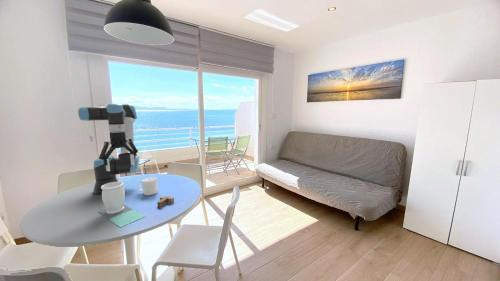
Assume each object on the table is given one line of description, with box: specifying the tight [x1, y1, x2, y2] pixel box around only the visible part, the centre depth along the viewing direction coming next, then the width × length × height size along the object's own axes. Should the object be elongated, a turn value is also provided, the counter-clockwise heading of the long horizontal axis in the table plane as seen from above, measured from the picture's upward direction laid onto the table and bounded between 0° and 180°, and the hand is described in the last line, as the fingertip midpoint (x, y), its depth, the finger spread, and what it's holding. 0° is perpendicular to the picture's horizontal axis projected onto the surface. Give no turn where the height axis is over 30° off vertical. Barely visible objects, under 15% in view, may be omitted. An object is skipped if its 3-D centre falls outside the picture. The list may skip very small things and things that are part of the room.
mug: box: [137, 176, 159, 196], centre depth 136 cm, size 12×9×9 cm
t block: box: [156, 195, 175, 208], centre depth 120 cm, size 8×8×3 cm
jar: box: [101, 181, 126, 214], centre depth 111 cm, size 11×10×15 cm
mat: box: [98, 204, 146, 228], centre depth 108 cm, size 26×12×1 cm, turn 56°
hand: (121, 167), depth 118 cm, fingers open, 13 cm apart
